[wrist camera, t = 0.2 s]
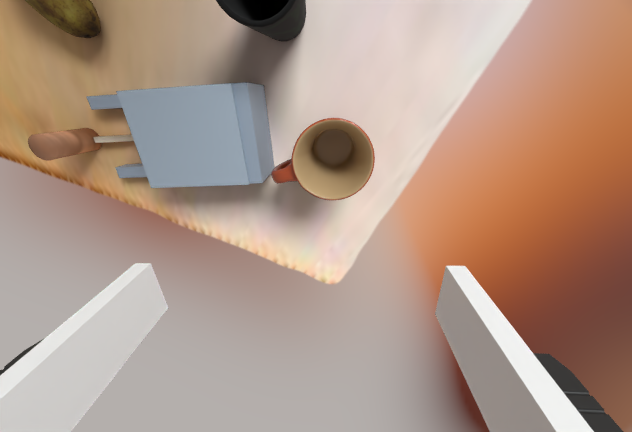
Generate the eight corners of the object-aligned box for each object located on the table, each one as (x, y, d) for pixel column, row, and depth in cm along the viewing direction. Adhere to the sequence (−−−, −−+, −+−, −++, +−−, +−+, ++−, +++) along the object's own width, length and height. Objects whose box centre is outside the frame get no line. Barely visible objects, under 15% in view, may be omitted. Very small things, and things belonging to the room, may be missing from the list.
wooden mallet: (73, 122, 37) (18, 127, 30) (238, 112, 34) (216, 115, 28) (88, 156, 39) (40, 167, 32) (244, 148, 37) (226, 159, 30)
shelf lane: (99, 96, 35) (42, 96, 28) (263, 85, 33) (245, 82, 26) (129, 174, 40) (87, 190, 33) (274, 168, 38) (261, 184, 31)
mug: (355, 103, 33) (363, 105, 24) (370, 165, 36) (382, 188, 27) (273, 132, 35) (251, 144, 26) (294, 187, 39) (281, 216, 29)
